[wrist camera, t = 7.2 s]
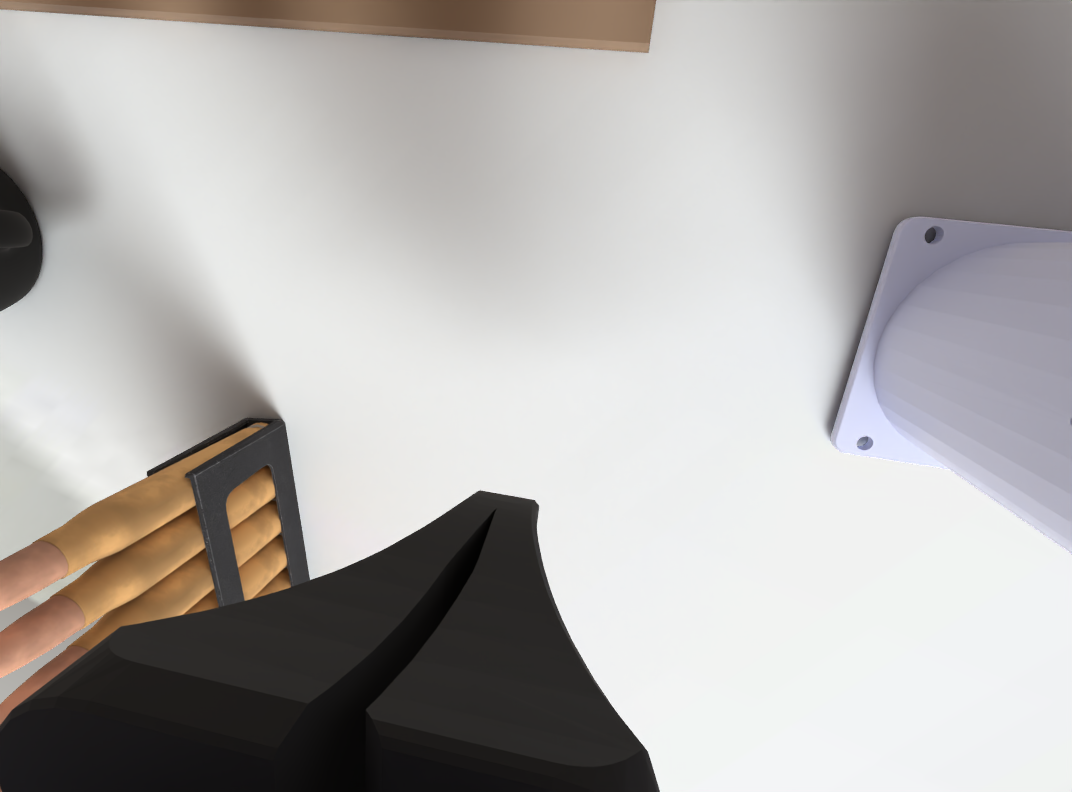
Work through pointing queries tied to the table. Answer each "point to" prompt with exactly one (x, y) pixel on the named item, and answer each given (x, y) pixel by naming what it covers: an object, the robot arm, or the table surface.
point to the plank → (402, 18)
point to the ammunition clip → (160, 550)
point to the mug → (17, 244)
